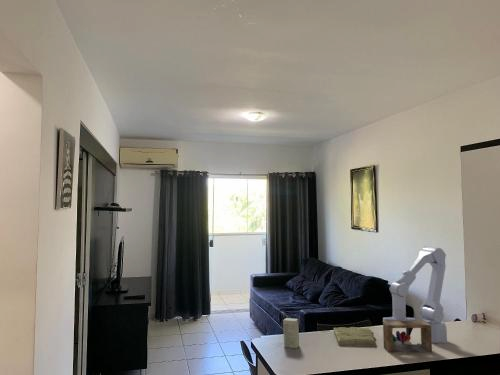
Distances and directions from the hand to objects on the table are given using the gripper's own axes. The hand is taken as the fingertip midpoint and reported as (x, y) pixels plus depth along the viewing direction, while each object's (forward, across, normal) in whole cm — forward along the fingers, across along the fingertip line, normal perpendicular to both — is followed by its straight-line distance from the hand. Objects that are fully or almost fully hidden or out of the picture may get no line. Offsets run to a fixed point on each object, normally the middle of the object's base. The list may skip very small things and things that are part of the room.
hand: (399, 338), depth 176 cm
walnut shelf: (+2, 0, +7) cm, 8 cm away
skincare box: (+3, +50, +3) cm, 51 cm away
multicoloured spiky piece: (+2, +2, +5) cm, 6 cm away
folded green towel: (+4, +19, -8) cm, 20 cm away
